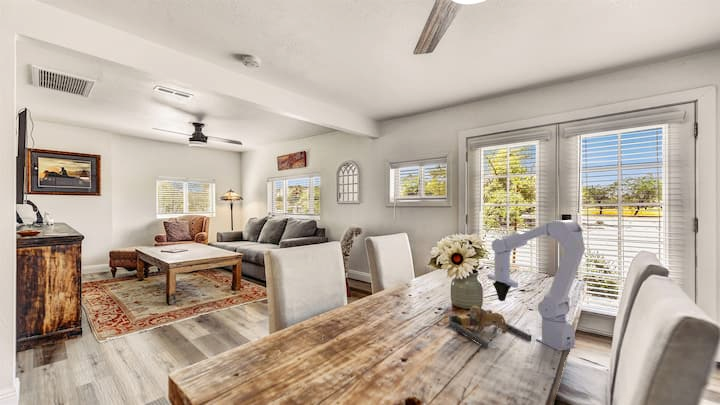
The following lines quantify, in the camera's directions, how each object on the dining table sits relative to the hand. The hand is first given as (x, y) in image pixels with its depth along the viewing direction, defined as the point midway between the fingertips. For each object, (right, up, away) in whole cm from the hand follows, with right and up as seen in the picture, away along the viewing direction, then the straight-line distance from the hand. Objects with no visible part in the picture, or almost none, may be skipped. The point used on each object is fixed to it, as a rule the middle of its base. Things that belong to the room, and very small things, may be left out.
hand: (501, 300), depth 126 cm
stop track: (-10, -9, -9) cm, 16 cm away
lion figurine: (-9, -10, -7) cm, 15 cm away
